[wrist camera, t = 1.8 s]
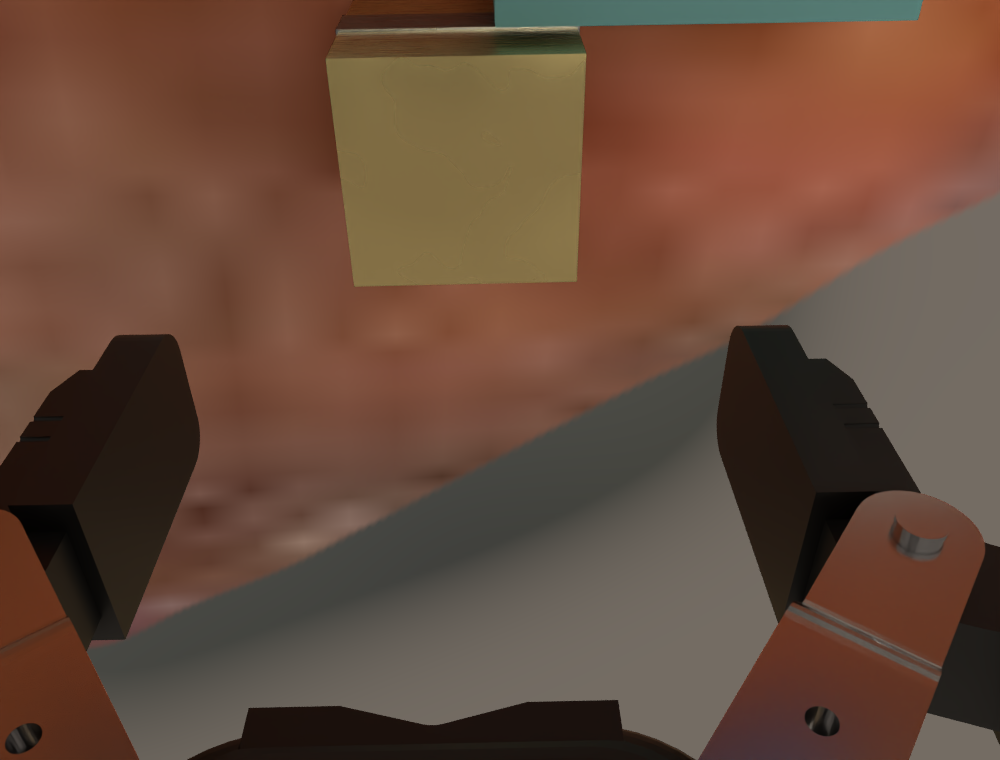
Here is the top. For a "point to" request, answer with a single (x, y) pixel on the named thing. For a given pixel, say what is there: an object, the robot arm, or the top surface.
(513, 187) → the yellow cube
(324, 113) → the top surface
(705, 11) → the cradle
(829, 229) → the top surface
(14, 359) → the top surface
